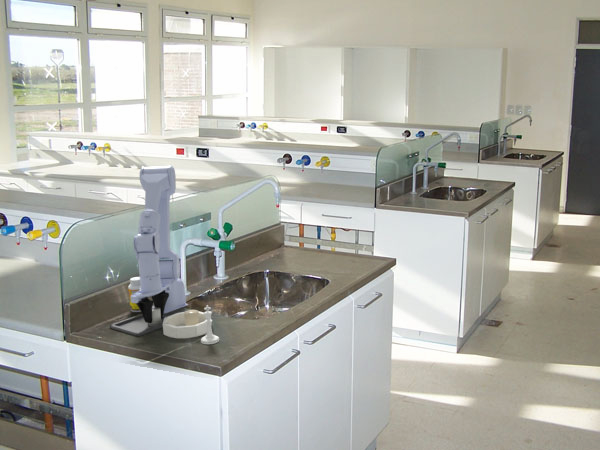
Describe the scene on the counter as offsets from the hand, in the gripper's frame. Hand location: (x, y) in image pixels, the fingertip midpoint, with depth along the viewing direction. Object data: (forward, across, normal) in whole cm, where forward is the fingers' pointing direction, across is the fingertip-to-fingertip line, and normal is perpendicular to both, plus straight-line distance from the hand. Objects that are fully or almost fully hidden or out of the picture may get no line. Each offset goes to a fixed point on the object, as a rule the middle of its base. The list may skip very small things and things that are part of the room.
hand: (154, 319), depth 205 cm
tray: (+2, +2, -3) cm, 4 cm away
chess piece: (+2, +3, +23) cm, 23 cm away
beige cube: (+1, -2, +12) cm, 12 cm away
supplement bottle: (+2, -8, -14) cm, 17 cm away
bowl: (+2, 0, +12) cm, 12 cm away
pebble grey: (+1, 0, 0) cm, 1 cm away
